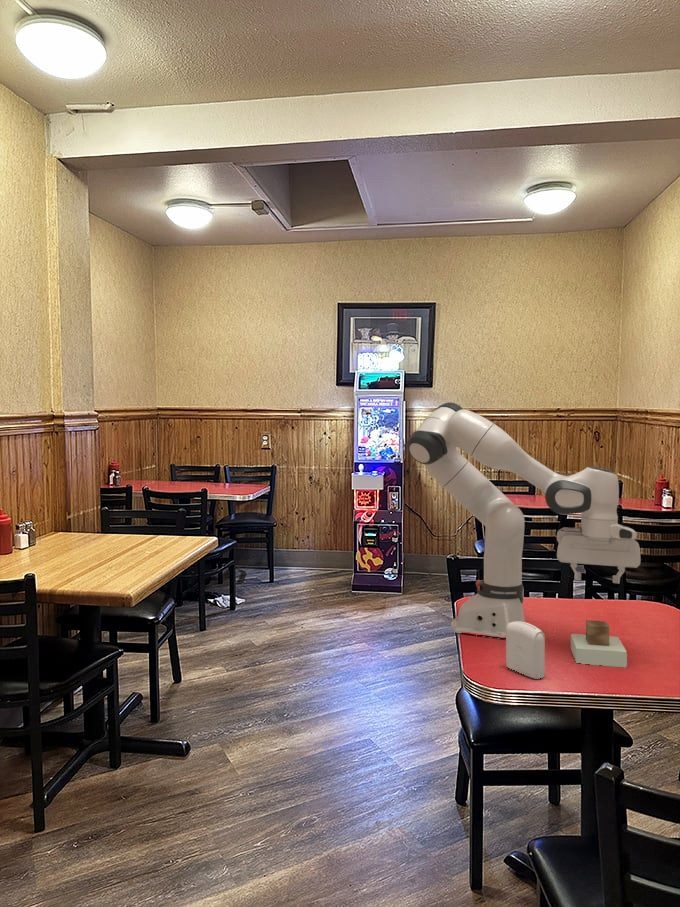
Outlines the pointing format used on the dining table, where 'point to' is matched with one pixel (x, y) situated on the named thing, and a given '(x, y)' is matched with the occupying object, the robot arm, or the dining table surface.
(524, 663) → the white slotted box
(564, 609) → the dining table surface
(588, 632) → the walnut cube
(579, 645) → the mint base block
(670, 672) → the dining table surface
